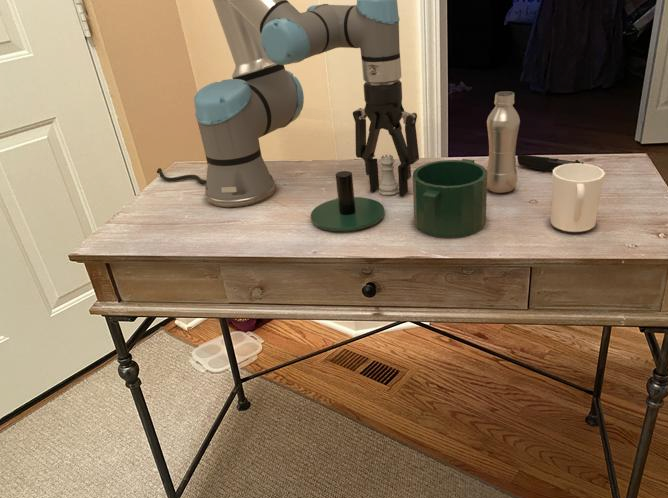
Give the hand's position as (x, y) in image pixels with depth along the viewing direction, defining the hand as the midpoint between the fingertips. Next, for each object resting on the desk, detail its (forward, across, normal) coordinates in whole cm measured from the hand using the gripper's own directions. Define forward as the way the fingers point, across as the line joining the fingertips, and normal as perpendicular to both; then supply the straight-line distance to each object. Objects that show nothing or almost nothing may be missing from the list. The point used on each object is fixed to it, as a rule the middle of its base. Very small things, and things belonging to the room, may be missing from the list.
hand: (389, 191), depth 132 cm
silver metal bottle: (0, +22, +9) cm, 24 cm away
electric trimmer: (0, +29, +23) cm, 37 cm away
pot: (0, +18, -9) cm, 20 cm away
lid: (0, -2, -14) cm, 14 cm away
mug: (+1, +40, -3) cm, 40 cm away
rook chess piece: (0, 0, 0) cm, 0 cm away
